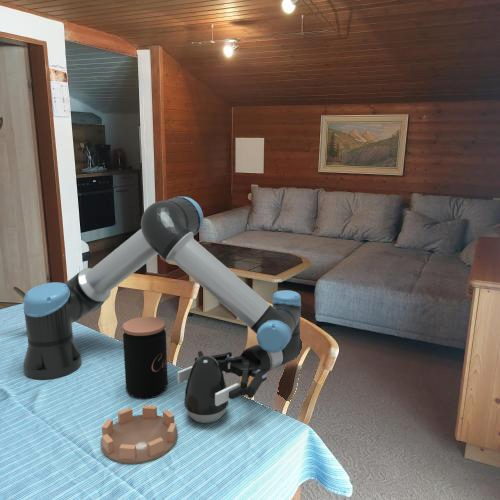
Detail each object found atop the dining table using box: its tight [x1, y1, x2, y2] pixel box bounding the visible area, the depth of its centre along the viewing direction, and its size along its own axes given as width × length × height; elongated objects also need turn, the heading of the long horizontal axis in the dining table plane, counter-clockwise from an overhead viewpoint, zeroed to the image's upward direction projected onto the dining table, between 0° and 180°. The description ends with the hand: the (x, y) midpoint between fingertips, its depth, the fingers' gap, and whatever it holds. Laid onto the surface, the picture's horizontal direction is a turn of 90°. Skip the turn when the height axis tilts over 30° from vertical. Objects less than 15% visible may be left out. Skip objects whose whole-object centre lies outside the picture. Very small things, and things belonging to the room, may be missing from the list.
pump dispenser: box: [183, 350, 229, 424], centre depth 105 cm, size 10×10×15 cm
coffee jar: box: [122, 316, 169, 399], centre depth 116 cm, size 11×11×18 cm
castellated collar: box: [100, 405, 179, 465], centre depth 98 cm, size 16×16×3 cm
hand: (196, 388), depth 103 cm, fingers open, 13 cm apart
